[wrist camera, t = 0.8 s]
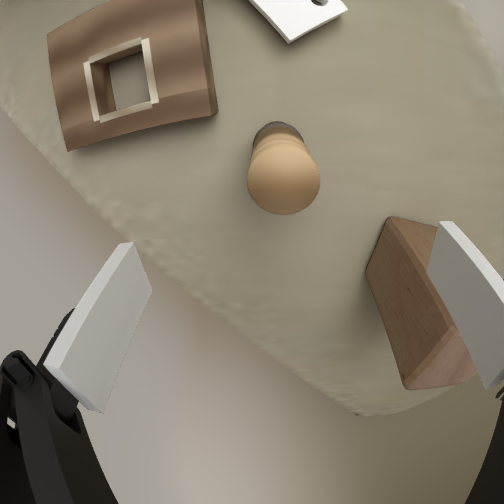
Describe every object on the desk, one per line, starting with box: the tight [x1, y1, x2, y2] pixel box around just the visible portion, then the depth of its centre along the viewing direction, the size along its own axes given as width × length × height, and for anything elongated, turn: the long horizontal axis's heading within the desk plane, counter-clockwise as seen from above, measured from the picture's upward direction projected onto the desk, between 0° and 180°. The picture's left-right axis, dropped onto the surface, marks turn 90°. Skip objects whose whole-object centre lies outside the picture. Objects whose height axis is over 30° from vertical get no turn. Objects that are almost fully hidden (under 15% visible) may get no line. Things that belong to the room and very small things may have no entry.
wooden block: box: [366, 217, 477, 390], centre depth 29 cm, size 10×10×20 cm
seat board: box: [47, 0, 218, 152], centre depth 23 cm, size 16×18×4 cm
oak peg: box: [247, 121, 320, 215], centre depth 24 cm, size 5×5×14 cm
